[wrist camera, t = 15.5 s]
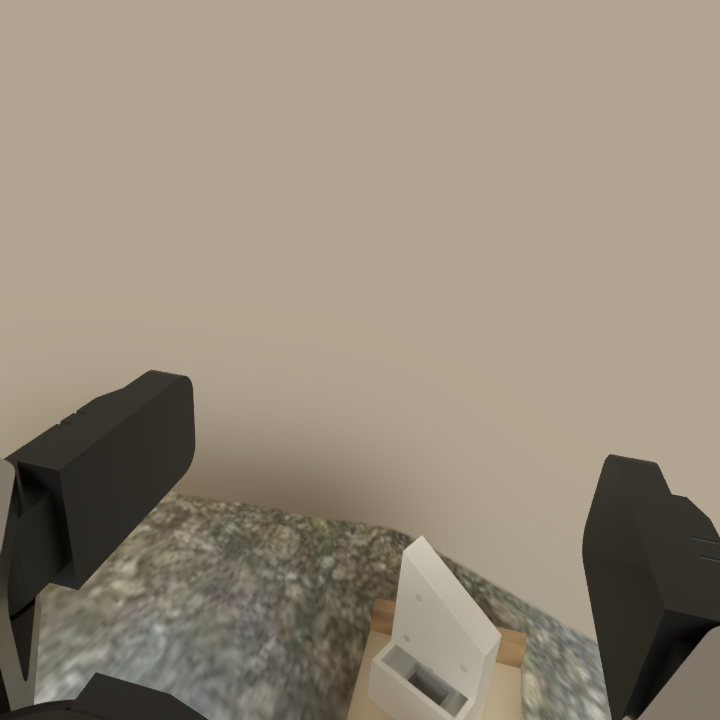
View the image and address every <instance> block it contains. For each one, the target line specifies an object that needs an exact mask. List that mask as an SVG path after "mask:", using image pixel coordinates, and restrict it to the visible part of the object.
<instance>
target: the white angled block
mask: <svg viewBox="0 0 720 720" xmlns="http://www.w3.org/2000/svg"><path fill="white" fill-rule="evenodd" d="M501 636H502V635H501V634H500V633H499V631H498V630H497V629H496V628H495V626H494V625H493V624H492V622H491V621H490V620H489V619H488V617H487V616H486V615H485V614H484V612H483V611H482V610H481V609H480V607H479V606H478V605H477V604H476V602H475V601H474V600H473V599H472V597H471V596H470V595H469V594H468V592H467V591H466V590H465V589H464V587H463V586H462V585H461V584H460V582H459V581H458V580H457V579H456V577H455V576H454V575H453V574H452V572H451V571H450V570H449V569H448V567H447V566H446V565H445V564H444V562H443V561H442V560H441V558H440V557H439V556H438V555H437V553H436V552H435V551H434V550H433V548H432V547H431V546H430V545H429V543H428V542H427V541H426V540H425V538H424V537H423V536H421V537H419V538H418V539H417V540H416V541H414V542H413V543H412V544H411V545H410V546H409V547H407V548H406V549H405V550H404V551H403V557H402V564H401V571H400V578H399V585H398V593H397V600H396V607H395V614H394V621H393V629H392V636H391V641H390V642H389V643H388V644H387V645H386V646H385V647H384V648H383V649H382V650H381V651H380V652H379V653H378V654H377V655H376V656H375V657H374V658H373V659H372V662H371V671H370V679H369V687H368V695H367V697H368V698H369V699H370V700H372V701H373V702H374V703H375V704H376V705H378V706H379V707H380V708H381V709H382V710H383V711H385V712H386V713H387V714H388V715H389V716H390V717H392V718H393V719H394V720H480V719H481V718H482V714H483V709H484V705H485V701H486V697H487V693H488V689H489V685H490V681H491V677H492V673H493V669H494V665H495V661H496V657H497V653H498V649H499V645H500V640H501Z"/></svg>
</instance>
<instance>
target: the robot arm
mask: <svg viewBox="0 0 720 720" xmlns="http://www.w3.org/2000/svg"><path fill="white" fill-rule="evenodd" d="M194 452H195V424H194V402H193V387H192V382H191V380H190V379H189V378H188V377H187V376H183V375H177V374H171V373H166V372H161V371H155V370H150V371H148V372H146V373H145V374H143V375H142V376H140V377H139V378H137V379H136V380H134V381H133V382H131V383H130V384H129V385H127V386H126V387H124V388H123V389H120V390H117V391H114V392H111V393H109V394H106V395H103V396H100V397H97V398H95V399H94V400H92V401H91V402H89V403H88V404H86V405H85V406H83V407H82V408H80V409H79V410H77V413H76V414H74V413H73V414H71V415H70V416H68V417H66V418H65V419H63V420H62V421H61V423H60V425H58V424H56V425H54V426H53V427H51V428H50V429H48V430H47V431H45V432H44V433H42V434H41V435H39V436H38V437H36V438H35V439H33V440H32V441H31V442H29V443H27V444H26V445H25V446H23V447H21V448H20V449H18V450H17V451H15V452H14V453H12V454H11V455H9V456H8V457H6V458H5V459H0V720H208V719H207V718H205V717H204V716H202V715H201V714H199V713H198V712H196V711H195V710H193V709H192V708H190V707H189V706H187V705H186V704H184V703H183V702H181V701H180V700H178V699H177V698H175V697H174V696H172V695H171V694H167V693H164V692H161V691H157V690H154V689H150V688H147V687H144V686H140V685H137V684H134V683H130V682H127V681H123V680H120V679H117V678H113V677H110V676H106V675H103V674H100V673H95V674H94V676H93V677H92V678H91V680H90V681H89V682H88V684H87V685H86V686H85V688H84V689H83V690H82V692H81V693H80V694H79V696H78V697H77V698H76V700H62V701H52V702H45V703H41V704H36V705H34V693H35V681H36V669H37V657H38V645H39V632H40V620H41V599H40V594H39V593H40V592H41V591H42V590H43V589H44V588H45V587H46V586H47V585H48V584H49V583H54V584H57V585H61V586H65V587H69V588H72V589H76V590H79V589H80V588H81V586H82V585H83V584H84V583H85V582H86V581H87V580H88V579H89V578H90V577H91V576H92V575H93V573H94V572H95V571H96V570H97V569H98V568H99V567H100V566H101V565H102V564H103V563H104V561H105V560H106V559H107V558H108V557H109V556H110V555H111V554H112V553H113V552H114V551H115V550H116V548H117V547H118V546H119V545H120V544H121V543H122V542H123V541H124V540H125V539H126V538H127V536H128V535H129V534H130V533H131V532H132V531H133V530H134V529H135V528H136V527H137V526H138V525H139V523H140V522H141V521H142V520H143V519H144V518H145V517H146V516H147V515H148V514H149V513H150V511H151V510H152V509H153V508H154V507H155V506H156V505H157V504H158V503H159V502H160V501H161V500H162V498H163V497H164V496H165V495H166V494H167V493H168V492H169V491H170V490H171V488H173V486H174V485H175V484H176V483H177V482H178V481H179V480H180V479H181V478H182V477H183V475H184V474H185V473H186V472H187V470H188V469H189V467H190V465H191V462H192V459H193V456H194ZM582 547H583V548H582V555H583V563H584V569H585V575H586V580H587V586H588V591H589V597H590V602H591V608H592V613H593V619H594V624H595V629H596V635H597V641H598V646H599V651H600V657H601V662H602V668H603V673H604V679H605V684H606V690H607V695H608V701H609V706H610V712H611V717H612V720H720V537H719V535H718V533H717V531H716V529H715V527H714V526H713V524H712V522H711V520H710V519H709V518H708V517H707V516H706V515H705V514H704V513H703V512H702V511H701V510H700V509H698V507H696V506H695V505H694V504H693V503H692V502H691V501H690V500H689V499H688V498H687V497H682V496H678V495H672V494H671V492H670V490H669V488H668V485H667V483H666V481H665V479H664V477H663V475H662V472H661V470H660V468H659V466H658V464H657V463H655V462H650V461H644V460H639V459H634V458H628V457H622V456H617V455H611V454H610V455H609V456H608V457H607V458H606V460H605V462H604V465H603V468H602V471H601V474H600V478H599V481H598V484H597V488H596V491H595V494H594V498H593V501H592V505H591V508H590V512H589V515H588V518H587V521H586V525H585V530H584V536H583V546H582Z"/></svg>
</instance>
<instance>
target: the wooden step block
mask: <svg viewBox="0 0 720 720" xmlns="http://www.w3.org/2000/svg"><path fill="white" fill-rule="evenodd" d="M395 607H396V602H393V601H389V600H385V599H381V598H377V597H376V598H375V602H374V605H373V610H372V618H371V627H370V632H369V636H368V640H367V644H366V648H365V651H364V655H363V659H362V663H361V666H360V670H359V674H358V678H357V681H356V685H355V689H354V693H353V696H352V700H351V704H350V708H349V711H348V715H347V719H346V720H394V719H393V718H392V717H390V716H389V715H388V714H387V713H386V712H385V711H383V710H382V709H381V708H380V707H379V706H378V705H376V704H375V703H374V702H373V701H372V700H370V699H369V698H368V697H367V695H368V687H369V679H370V671H371V662H372V659H373V658H374V657H375V656H376V655H377V654H378V653H379V652H380V651H381V650H382V649H383V648H384V647H385V646H386V645H387V644H388V643H389V642H390V641H391V636H392V629H393V621H394V614H395ZM495 628H496V629H497V630H498V631H499V633H500V634H501V635H502V636H501V640H500V645H499V649H498V653H497V657H496V661H495V665H494V669H493V673H492V677H491V681H490V685H489V689H488V693H487V697H486V701H485V705H484V709H483V714H482V718H481V719H480V720H522V699H521V665H522V661H523V658H524V654H525V650H526V647H527V644H526V634H525V633H521V632H517V631H513V630H509V629H505V628H500V627H496V626H495Z"/></svg>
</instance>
